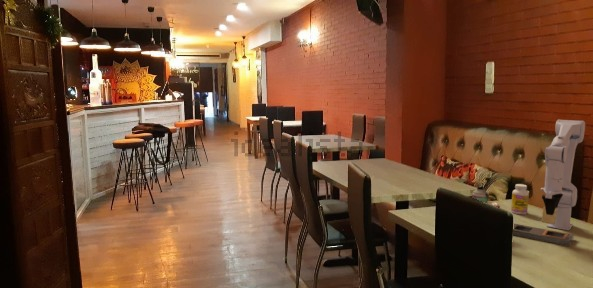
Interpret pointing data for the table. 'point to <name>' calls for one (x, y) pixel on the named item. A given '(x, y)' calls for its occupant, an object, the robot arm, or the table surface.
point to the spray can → (480, 194)
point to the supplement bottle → (520, 199)
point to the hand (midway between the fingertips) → (551, 213)
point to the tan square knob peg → (549, 217)
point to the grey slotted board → (543, 234)
